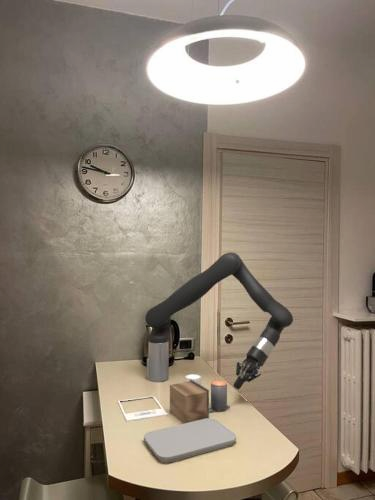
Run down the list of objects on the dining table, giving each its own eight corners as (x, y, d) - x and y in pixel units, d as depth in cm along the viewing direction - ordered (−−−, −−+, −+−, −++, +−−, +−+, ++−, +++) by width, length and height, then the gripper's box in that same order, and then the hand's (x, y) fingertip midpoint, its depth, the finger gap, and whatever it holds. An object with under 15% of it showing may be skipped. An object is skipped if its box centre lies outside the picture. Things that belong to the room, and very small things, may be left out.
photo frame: (126, 420, 127) (117, 400, 144) (126, 423, 127) (117, 403, 144) (167, 413, 132) (154, 395, 149) (167, 416, 132) (154, 398, 149)
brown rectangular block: (218, 400, 145) (218, 373, 146) (237, 412, 135) (237, 383, 135) (169, 412, 135) (169, 383, 135) (186, 426, 124) (186, 394, 124)
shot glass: (181, 394, 152) (181, 377, 152) (189, 389, 158) (189, 372, 158) (196, 397, 148) (196, 380, 149) (204, 392, 155) (204, 375, 155)
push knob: (220, 402, 142) (220, 378, 142) (230, 407, 137) (230, 383, 137) (207, 405, 139) (207, 380, 139) (216, 411, 134) (216, 385, 134)
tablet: (140, 440, 116) (140, 433, 116) (212, 423, 127) (212, 416, 127) (161, 467, 101) (161, 459, 101) (240, 445, 113) (240, 438, 113)
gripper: (244, 342, 152) (220, 377, 146) (266, 349, 141) (240, 387, 135) (254, 353, 155) (231, 388, 149) (276, 361, 143) (252, 399, 137)
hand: (235, 387), depth 142 cm, fingers closed
